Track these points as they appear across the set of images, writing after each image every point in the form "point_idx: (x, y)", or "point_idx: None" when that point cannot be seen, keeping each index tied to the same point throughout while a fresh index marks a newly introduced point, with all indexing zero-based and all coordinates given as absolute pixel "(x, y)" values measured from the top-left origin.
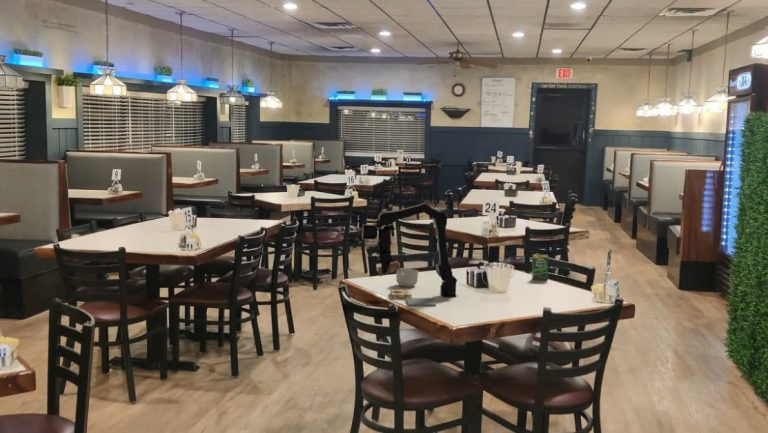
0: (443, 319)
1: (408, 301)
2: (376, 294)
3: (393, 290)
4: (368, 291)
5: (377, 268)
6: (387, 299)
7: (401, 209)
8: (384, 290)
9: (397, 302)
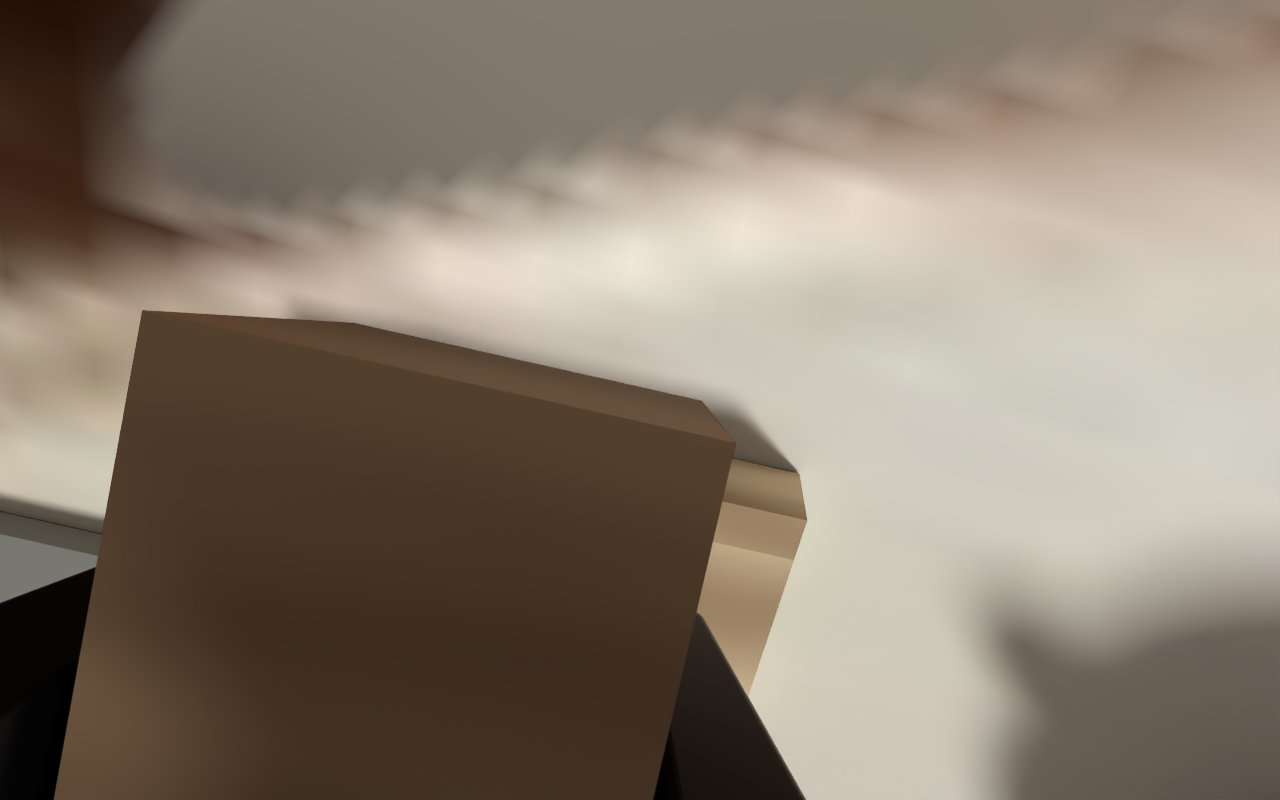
0: None
1: (6, 554)
2: (842, 183)
3: (716, 560)
4: (1241, 74)
5: (426, 410)
6: (328, 279)
7: None
8: (1167, 470)
9: (80, 386)
